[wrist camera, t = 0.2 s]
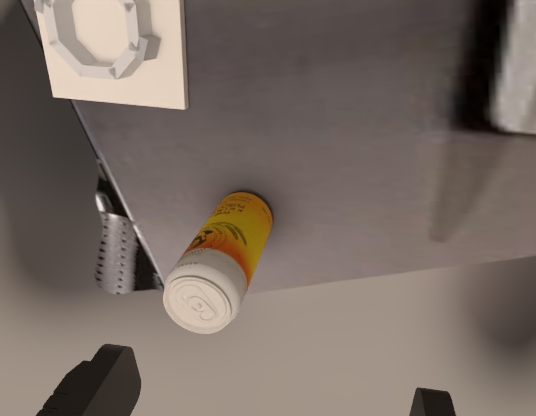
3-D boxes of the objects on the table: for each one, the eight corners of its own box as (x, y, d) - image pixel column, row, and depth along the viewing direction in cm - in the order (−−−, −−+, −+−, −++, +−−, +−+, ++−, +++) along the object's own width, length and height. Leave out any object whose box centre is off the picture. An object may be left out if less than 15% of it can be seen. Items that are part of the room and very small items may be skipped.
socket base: (28, -70, 34) (-5, -79, 31) (180, -67, 31) (161, -76, 28) (60, 95, 40) (35, 101, 37) (188, 107, 38) (174, 115, 35)
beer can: (248, 178, 40) (196, 258, 27) (285, 221, 41) (252, 318, 28) (208, 208, 43) (142, 295, 29) (243, 248, 44) (196, 348, 31)
